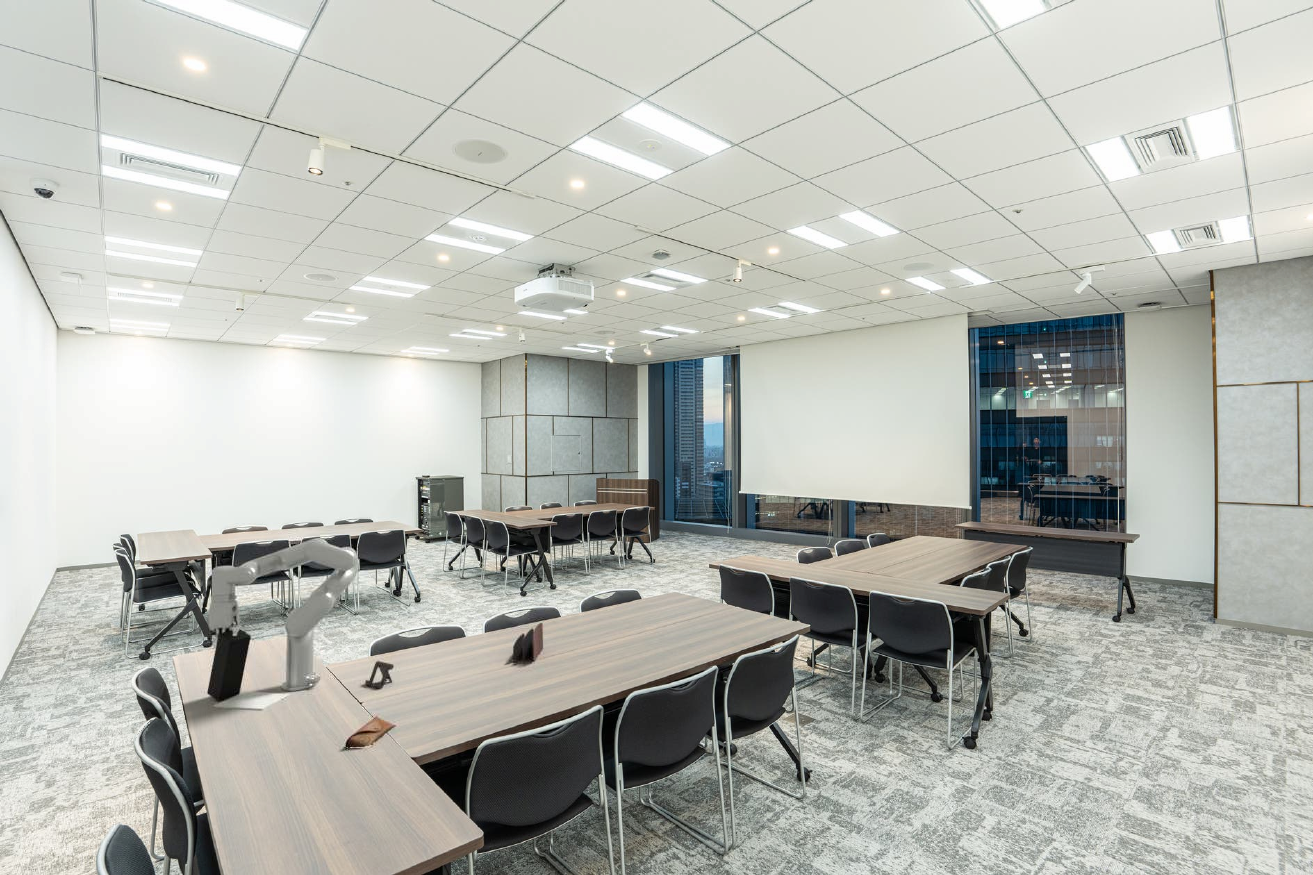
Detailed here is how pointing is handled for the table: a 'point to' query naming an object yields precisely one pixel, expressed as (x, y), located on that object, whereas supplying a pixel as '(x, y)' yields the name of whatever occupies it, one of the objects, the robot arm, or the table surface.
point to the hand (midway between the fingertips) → (223, 645)
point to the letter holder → (528, 645)
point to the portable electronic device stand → (384, 671)
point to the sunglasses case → (369, 733)
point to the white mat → (252, 700)
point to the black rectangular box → (228, 664)
